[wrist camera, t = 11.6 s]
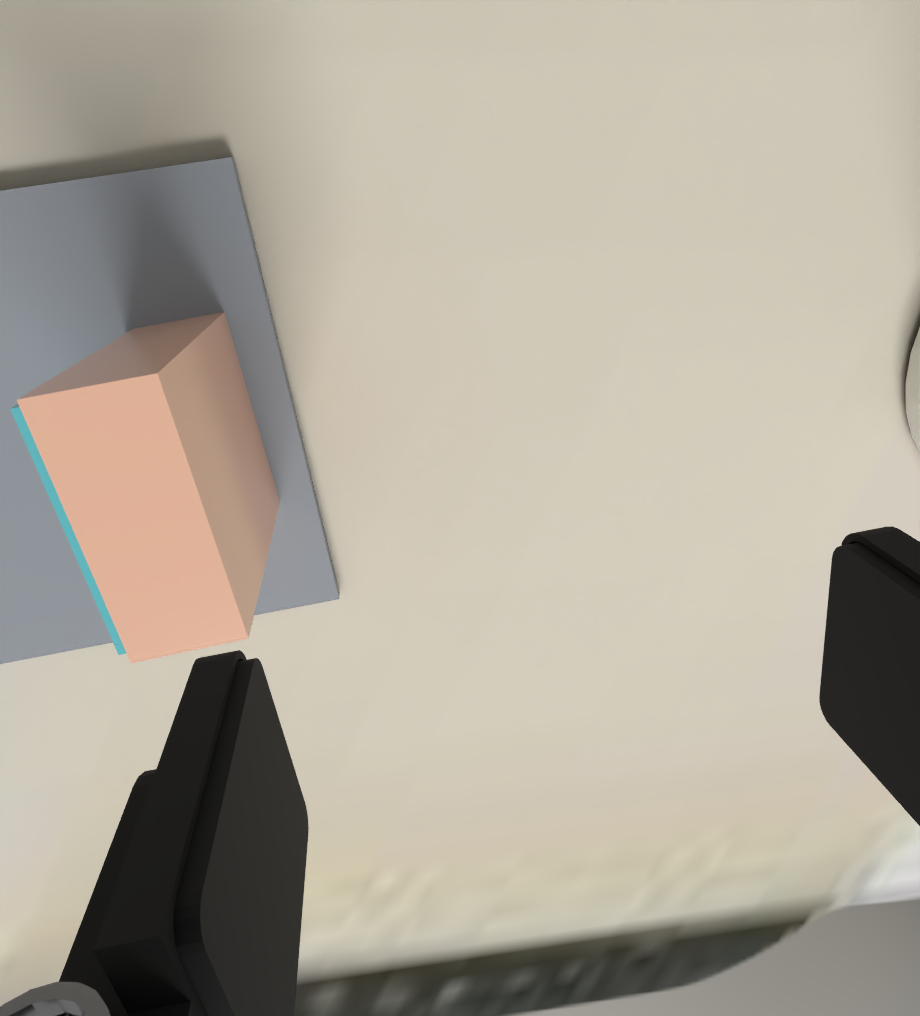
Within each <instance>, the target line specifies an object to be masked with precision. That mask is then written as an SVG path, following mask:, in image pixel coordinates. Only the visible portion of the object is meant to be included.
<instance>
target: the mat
mask: <svg viewBox="0 0 920 1016" xmlns="http://www.w3.org/2000/svg"><path fill="white" fill-rule="evenodd" d="M221 312H225V315H226V319H227V322H228V325H229V329H230V332H231V336H232V339H233V343H234V346H235V349H236V353H237V356H238V360H239V363H240V367H241V370H242V373H243V377H244V380H245V384H246V387H247V391H248V394H249V397H250V401H251V404H252V408H253V411H254V415H255V418H256V421H257V425H258V428H259V432H260V435H261V438H262V442H263V445H264V449H265V452H266V456H267V459H268V462H269V466H270V469H271V473H272V476H273V480H274V483H275V486H276V490H277V493H278V497H279V500H280V504H279V509H278V513H277V517H276V522H275V526H274V530H273V535H272V539H271V543H270V547H269V552H268V556H267V560H266V565H265V569H264V573H263V578H262V582H261V586H260V590H259V595H258V599H257V603H256V608H255V612H254V615H258V614H263V613H269V612H274V611H279V610H284V609H290V608H295V607H300V606H305V605H310V604H316V603H321V602H326V601H331V600H336V599H339V589H338V585H337V581H336V577H335V573H334V569H333V565H332V560H331V556H330V552H329V548H328V544H327V540H326V536H325V532H324V528H323V523H322V519H321V515H320V511H319V507H318V503H317V499H316V495H315V491H314V487H313V482H312V478H311V474H310V470H309V466H308V462H307V458H306V454H305V450H304V445H303V441H302V437H301V433H300V429H299V425H298V421H297V417H296V413H295V408H294V404H293V400H292V396H291V392H290V388H289V384H288V380H287V376H286V371H285V367H284V363H283V359H282V355H281V351H280V347H279V343H278V339H277V334H276V330H275V326H274V322H273V318H272V314H271V310H270V306H269V302H268V298H267V293H266V289H265V285H264V281H263V277H262V273H261V269H260V265H259V261H258V256H257V252H256V248H255V244H254V240H253V236H252V232H251V228H250V224H249V219H248V215H247V211H246V207H245V203H244V199H243V195H242V191H241V187H240V182H239V178H238V174H237V170H236V166H235V162H234V158H233V157H228V158H221V159H214V160H207V161H200V162H193V163H187V164H180V165H173V166H166V167H159V168H152V169H146V170H139V171H132V172H125V173H118V174H111V175H104V176H98V177H91V178H84V179H77V180H70V181H63V182H57V183H50V184H43V185H36V186H29V187H22V188H16V189H9V190H2V191H0V664H3V663H8V662H13V661H19V660H24V659H29V658H34V657H39V656H45V655H50V654H55V653H60V652H65V651H71V650H76V649H81V648H86V647H92V646H97V645H102V644H107V643H112V642H113V641H112V639H111V636H110V634H109V632H108V630H107V627H106V625H105V623H104V620H103V618H102V616H101V614H100V611H99V609H98V607H97V605H96V602H95V600H94V598H93V596H92V593H91V591H90V589H89V586H88V584H87V582H86V580H85V577H84V575H83V573H82V571H81V568H80V566H79V564H78V562H77V559H76V557H75V555H74V552H73V550H72V548H71V546H70V543H69V541H68V539H67V537H66V534H65V532H64V530H63V527H62V525H61V523H60V521H59V518H58V516H57V514H56V512H55V509H54V507H53V505H52V503H51V500H50V498H49V496H48V493H47V491H46V489H45V487H44V484H43V482H42V480H41V478H40V475H39V473H38V471H37V469H36V466H35V464H34V462H33V459H32V457H31V455H30V453H29V450H28V448H27V446H26V444H25V441H24V439H23V437H22V435H21V432H20V430H19V428H18V425H17V423H16V421H15V419H14V416H13V414H12V412H11V410H10V409H11V408H12V407H14V406H15V405H17V404H18V402H17V399H18V398H20V397H22V396H23V395H25V394H27V393H28V392H30V391H32V390H33V389H35V388H37V387H38V386H40V385H41V384H43V383H45V382H46V381H48V380H50V379H51V378H53V377H55V376H56V375H58V374H60V373H61V372H63V371H65V370H66V369H68V368H69V367H71V366H73V365H74V364H76V363H78V362H79V361H81V360H83V359H84V358H86V357H88V356H89V355H91V354H92V353H94V352H96V351H97V350H99V349H101V348H102V347H104V346H106V345H107V344H109V343H111V342H112V341H114V340H115V339H117V338H119V337H120V336H122V335H124V334H125V333H127V332H129V331H130V330H132V329H134V328H140V327H145V326H150V325H156V324H161V323H167V322H172V321H178V320H183V319H189V318H194V317H199V316H205V315H210V314H216V313H221Z"/></svg>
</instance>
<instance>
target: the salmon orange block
mask: <svg viewBox="0 0 920 1016" xmlns="http://www.w3.org/2000/svg"><path fill="white" fill-rule="evenodd" d="M17 402H18V404H17V405H15V406H14V407H12V408H11V409H10V410H11V412H12V414H13V416H14V419H15V421H16V423H17V425H18V428H19V430H20V432H21V435H22V437H23V439H24V441H25V444H26V446H27V448H28V450H29V453H30V455H31V457H32V459H33V462H34V464H35V466H36V469H37V471H38V473H39V475H40V478H41V480H42V482H43V484H44V487H45V489H46V491H47V493H48V496H49V498H50V500H51V503H52V505H53V507H54V509H55V512H56V514H57V516H58V518H59V521H60V523H61V525H62V527H63V530H64V532H65V534H66V537H67V539H68V541H69V543H70V546H71V548H72V550H73V552H74V555H75V557H76V559H77V562H78V564H79V566H80V568H81V571H82V573H83V575H84V577H85V580H86V582H87V584H88V586H89V589H90V591H91V593H92V596H93V598H94V600H95V602H96V605H97V607H98V609H99V611H100V614H101V616H102V618H103V620H104V623H105V625H106V627H107V630H108V632H109V634H110V636H111V639H112V641H113V643H114V645H115V648H116V650H117V652H118V654H119V655H120V654H125V653H127V655H128V658H129V660H130V662H131V663H135V662H140V661H144V660H149V659H154V658H158V657H163V656H168V655H172V654H177V653H182V652H187V651H191V650H196V649H201V648H205V647H210V646H215V645H220V644H224V643H229V642H234V641H238V640H243V639H248V638H249V634H250V629H251V625H252V621H253V616H254V612H255V608H256V603H257V599H258V595H259V590H260V586H261V582H262V578H263V573H264V569H265V565H266V560H267V556H268V552H269V547H270V543H271V539H272V535H273V530H274V526H275V522H276V517H277V513H278V509H279V504H280V500H279V497H278V493H277V490H276V486H275V483H274V480H273V476H272V473H271V469H270V466H269V462H268V459H267V456H266V452H265V449H264V445H263V442H262V438H261V435H260V432H259V428H258V425H257V421H256V418H255V415H254V411H253V408H252V404H251V401H250V397H249V394H248V391H247V387H246V384H245V380H244V377H243V373H242V370H241V367H240V363H239V360H238V356H237V353H236V349H235V346H234V343H233V339H232V336H231V332H230V329H229V325H228V322H227V319H226V315H225V312H221V313H216V314H210V315H205V316H199V317H194V318H189V319H183V320H178V321H172V322H167V323H161V324H156V325H150V326H145V327H140V328H134V329H132V330H130V331H129V332H127V333H125V334H124V335H122V336H120V337H119V338H117V339H115V340H114V341H112V342H111V343H109V344H107V345H106V346H104V347H102V348H101V349H99V350H97V351H96V352H94V353H92V354H91V355H89V356H88V357H86V358H84V359H83V360H81V361H79V362H78V363H76V364H74V365H73V366H71V367H69V368H68V369H66V370H65V371H63V372H61V373H60V374H58V375H56V376H55V377H53V378H51V379H50V380H48V381H46V382H45V383H43V384H41V385H40V386H38V387H37V388H35V389H33V390H32V391H30V392H28V393H27V394H25V395H23V396H22V397H20V398H18V399H17Z"/></svg>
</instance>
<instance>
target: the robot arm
mask: <svg viewBox="0 0 920 1016" xmlns="http://www.w3.org/2000/svg"><path fill="white" fill-rule="evenodd" d="M906 414H907V418H908V422H909V427H910V431H911V436H912V438H913V440H914V442H915V444H916V446H917V448H918V450H919V452H920V328H919V331H918V333H917V336H916V339H915V342H914V345H913V348H912V351H911V354H910V360H909V366H908V372H907V378H906ZM820 706H821V710H822V712H823V715H824V717H825V719H826V721H827V722H828V723H829V725H830V726H831V727H832V728H833V729H834V730H835V731H836V733H837V734H838V735H839V736H840V737H841V738H842V739H843V740H844V742H845V743H846V744H847V745H848V746H849V747H850V748H851V749H852V751H853V752H854V753H855V754H856V755H857V756H858V757H859V758H860V760H861V761H862V762H863V763H864V764H865V765H866V766H867V767H868V768H869V770H870V771H871V772H872V773H873V774H874V775H875V776H876V777H877V779H878V780H879V781H880V782H881V783H882V784H883V785H884V786H885V788H886V789H887V790H888V791H889V792H890V793H891V794H892V795H893V797H894V798H895V799H896V800H897V801H898V802H899V803H900V804H901V805H902V807H903V808H904V809H905V810H906V811H907V812H908V813H909V814H910V816H911V817H912V818H913V819H914V820H915V821H916V822H917V823H918V825H919V826H920V542H919V541H917V540H916V539H914V538H912V537H911V536H909V535H908V534H906V533H904V532H903V531H901V530H899V529H897V528H895V527H883V528H878V529H872V530H867V531H862V532H857V533H851V534H849V535H848V536H846V537H845V539H844V540H843V542H842V546H839V547H837V548H836V549H835V551H834V552H833V556H832V565H831V576H830V587H829V598H828V609H827V620H826V631H825V642H824V653H823V664H822V675H821V686H820ZM307 843H308V816H307V810H306V805H305V801H304V798H303V795H302V792H301V788H300V785H299V782H298V779H297V776H296V772H295V769H294V766H293V763H292V760H291V756H290V753H289V750H288V747H287V744H286V740H285V737H284V734H283V731H282V728H281V724H280V721H279V718H278V715H277V712H276V708H275V705H274V702H273V699H272V696H271V692H270V689H269V686H268V683H267V680H266V676H265V673H264V670H263V667H262V664H261V662H260V661H259V659H257V658H255V659H249V660H246V657H245V655H244V654H243V652H241V651H240V650H239V651H233V652H228V653H223V654H218V655H212V656H207V657H202V658H198V659H196V661H195V662H194V664H193V667H192V670H191V673H190V676H189V678H188V681H187V684H186V687H185V690H184V693H183V696H182V698H181V701H180V704H179V707H178V710H177V713H176V715H175V718H174V721H173V724H172V727H171V730H170V733H169V735H168V738H167V741H166V744H165V747H164V750H163V752H162V755H161V758H160V761H159V764H158V767H157V769H155V770H150V771H145V772H144V773H142V774H141V775H140V776H139V777H138V779H137V780H136V782H135V784H134V786H133V788H132V791H131V794H130V796H129V799H128V801H127V804H126V807H125V809H124V812H123V815H122V817H121V820H120V822H119V825H118V828H117V830H116V833H115V836H114V838H113V841H112V843H111V846H110V849H109V851H108V854H107V857H106V859H105V862H104V865H103V867H102V870H101V872H100V875H99V878H98V880H97V883H96V886H95V888H94V891H93V893H92V896H91V899H90V901H89V904H88V907H87V909H86V912H85V914H84V917H83V920H82V922H81V925H80V928H79V930H78V933H77V935H76V938H75V941H74V943H73V946H72V949H71V951H70V954H69V956H68V959H67V962H66V964H65V967H64V970H63V972H62V975H61V977H60V980H59V982H54V983H51V984H48V985H44V986H41V987H38V988H34V989H31V990H29V991H27V992H25V993H23V994H22V995H20V996H18V997H16V998H14V999H12V1000H11V1001H9V1002H7V1003H5V1004H3V1005H2V1006H1V1007H0V1016H294V1009H295V996H296V983H297V971H298V958H299V945H300V932H301V919H302V907H303V894H304V881H305V868H306V855H307Z"/></svg>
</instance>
